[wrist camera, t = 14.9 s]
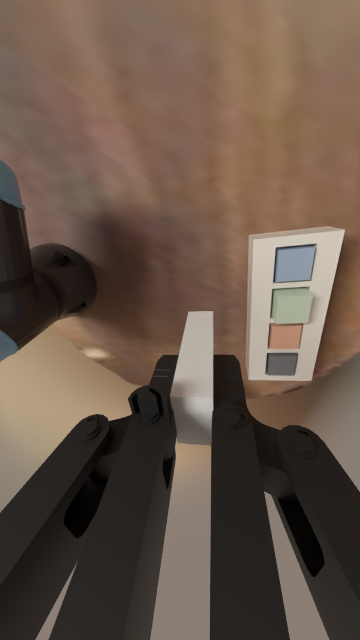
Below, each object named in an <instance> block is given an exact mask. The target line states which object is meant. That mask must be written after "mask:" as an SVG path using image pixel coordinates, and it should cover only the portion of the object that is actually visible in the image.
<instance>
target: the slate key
mask: <svg viewBox="0 0 360 640" xmlns="http://www.w3.org/2000/svg"><path fill="white" fill-rule="evenodd" d="M314 253H315V247H314V246H312V245H309V244H306V245H296V246H285V247H276V250H275V262H274V274H273V278H274V280H275V281H276V282H286V281H300V280H310V277H311V271H312V265H313V259H314Z"/></svg>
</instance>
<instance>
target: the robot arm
mask: <svg viewBox="0 0 360 640" xmlns="http://www.w3.org/2000/svg"><path fill="white" fill-rule="evenodd" d="M24 210H25V207H24V205H23V204H22V200H21V196H20V191H19V187H18V182H17V178H16V176H15V174H14V172H13V171H12V170H11V168H10V167H9V166H7V165H6V164H5V163H4V162H2V161H1V160H0V362H1V361H2V360H4V359H5V358H7V357H8V356H10V355H13V354H15V353H16V352H17V351H18V350H19V349H21V348H22V347H23V346H25V345H26V344H27V343H28V342H30V341H31V340H32V339H34V338H35V337H36V336H37V335H39V334H40V333H41V332H43V331H44V330H45V329H47V328H48V327H49V326H50V325H52V324H53V323H54V322H56V321H57V320H60V319H64V318H67V317H71V316H75V315H78V314H80V313H82V312H83V311H85V310H86V309H87V308H88V307H89V306H90V305H91V304H92V303H93V301H94V299H95V296H96V282H95V278H94V275H93V273H92V271H91V269H90V267H89V266H88V264H87V263H86V262H85V261H84V259H83V258H82V257H81V256H79V255H78V254H77V253H76V252H74V251H73V250H71V249H70V248H68V247H65V246H63V245H59V244H53V243H49V244H43V245H39V246H36V247H33V248H32V249H30V248H29V242H28V235H27V228H26V222H25V215H24ZM128 401H129V404H130V407H131V411H132V414H131V415H130V416H127V417H124V418H121V419H116V420H112V421H108V418H107V417H105V416H104V415H100V414H95V415H91V416H88V417H86V418H84V419H83V420H81V421H80V422H79V423H78V424H77V425H76V426H75V427H74V428H73V429H72V430H71V432H70V433H69V434H68V435H67V436H66V437H65V439H64V440H63V441H62V442H61V443H60V444H59V445H58V447H57V448H56V449H55V450H54V451H53V453H52V454H51V455H50V456H49V457H48V458H47V459H46V461H45V462H44V463H43V464H42V465H41V466H40V467H39V469H38V470H37V471H36V472H35V473H34V474H33V476H32V477H31V478H30V479H29V480H28V481H27V482H26V484H25V485H24V486H23V487H22V488H21V489H20V491H19V492H18V493H17V494H16V495H15V496H14V498H13V499H12V500H11V501H10V502H9V503H8V504H7V506H6V507H5V508H4V509H3V510H2V511H1V513H0V640H35V639H36V637H37V636H38V633H39V632H40V630H41V628H42V626H43V624H44V622H45V621H46V619H47V617H48V615H49V613H50V611H51V609H52V608H53V606H54V604H55V602H56V600H57V598H58V597H59V595H60V593H61V591H62V589H63V587H64V585H65V584H66V582H67V580H68V578H69V576H70V574H71V572H72V571H73V569H74V567H75V565H76V563H77V565H76V568H75V570H74V573H73V576H72V579H71V581H70V584H69V587H68V589H67V592H66V595H65V598H64V600H63V603H62V605H61V608H60V611H59V613H58V616H57V619H56V622H55V624H54V627H53V629H52V632H51V635H50V638H49V640H150V636H151V628H152V622H153V615H154V607H155V601H156V594H157V586H158V579H159V572H160V565H161V559H162V551H163V544H164V537H165V530H166V523H167V516H168V509H169V502H170V494H171V488H172V480H173V474H174V467H175V460H176V453H175V443H176V437H177V442H178V443H187V444H200V445H211V454H212V455H211V564H210V566H211V567H210V568H211V569H210V573H211V574H210V640H290V638H289V633H288V626H287V621H286V615H285V609H284V603H283V598H282V592H281V586H280V580H279V575H278V569H277V563H276V557H275V552H274V546H273V540H272V534H271V529H270V523H269V518H268V511H267V506H266V500H265V494H264V491H265V492H267V493H269V494H271V495H272V498H273V500H274V503H275V505H276V508H277V510H278V513H279V515H280V518H281V520H282V523H283V525H284V528H285V530H286V533H287V535H288V538H289V540H290V543H291V545H292V548H293V550H294V553H295V555H296V558H297V560H298V562H299V565H300V568H301V570H302V572H303V575H304V577H305V580H306V582H307V585H308V587H309V590H310V592H311V595H312V597H313V600H314V602H315V605H316V607H317V610H318V612H319V615H320V617H321V620H322V622H323V625H324V627H325V630H326V632H327V635H328V637H329V639H330V640H360V492H359V490H358V489H357V487H356V486H355V485H354V483H353V482H352V481H351V479H350V478H349V476H348V475H347V474H346V472H345V471H344V469H343V468H342V467H341V465H340V464H339V462H338V461H337V460H336V458H335V457H334V455H333V454H332V453H331V451H330V450H329V448H328V447H327V446H326V444H325V443H324V442H323V441H322V440H321V438H320V437H318V435H317V434H315V433H314V432H312V431H311V430H309V429H307V428H304V427H301V426H298V425H289V426H287V427H284V428H283V429H282V430H278V429H275V428H272V427H269V426H267V425H264V424H262V423H260V422H259V421H257V420H256V419H255V418H254V417H253V416H252V415H251V414H250V412H249V411H248V408H247V405H246V399H245V393H244V387H243V381H242V375H241V369H240V363H239V361H238V360H237V358H236V357H235V356H234V355H214V336H213V311H198V312H188V316H187V321H186V325H185V330H184V334H183V339H182V343H181V348H180V352H179V355H163V356H162V357H161V358H160V359H159V360H158V361H157V364H156V367H155V371H154V373H153V377H152V379H151V382H150V384H149V385H147V386H143V387H140V388H138V389H137V390H135V391H134V392H133V393H131V395H130V396H129V398H128ZM77 561H78V562H77Z"/></svg>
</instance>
